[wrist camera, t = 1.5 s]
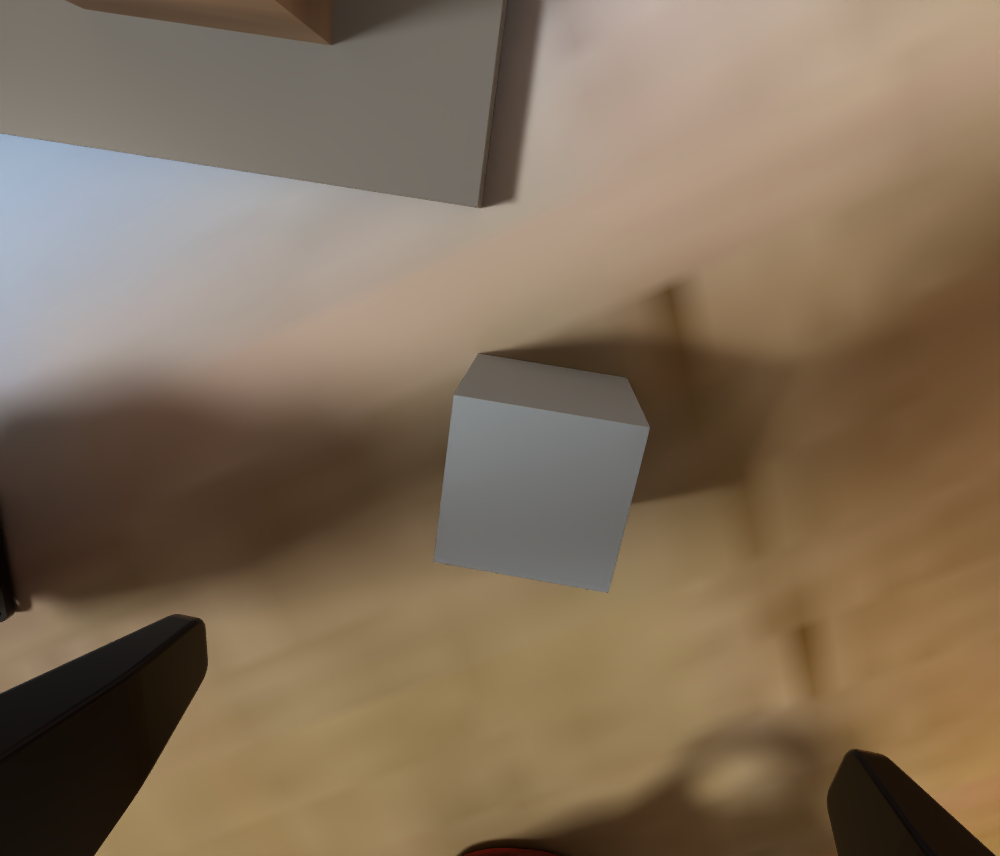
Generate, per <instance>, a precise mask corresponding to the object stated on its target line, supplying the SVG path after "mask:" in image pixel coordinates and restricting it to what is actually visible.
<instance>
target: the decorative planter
mask: <svg viewBox="0 0 1000 856" xmlns="http://www.w3.org/2000/svg"><path fill="white" fill-rule="evenodd" d="M463 856H559V855H556V854H552V853H549V852H544V851H538V850H530V849H517V848H492V849H485V850H479V851H475V852H471V853H468V854H466V855H463Z"/></svg>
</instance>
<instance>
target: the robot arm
mask: <svg viewBox="0 0 1000 856" xmlns="http://www.w3.org/2000/svg"><path fill="white" fill-rule="evenodd" d="M14 613H15V605H14V600H13V594H12V589H11V583H10V578H9V572H8V567H7V562H6V556H5V551H4V545H3V540H2V534H1V529H0V622H3V621H5V620H6V619H8V618H9V617H11V616H12V615H13V614H14ZM207 666H208V656H207V641H206V628H205V624H204V622H203V620H201V619H200V618H196V617H191V616H186V615H181V614H174V615H170V616H168V617H165V618H163V619H161V620H159V621H157V622H155V623H152V624H150V625H148V626H146V627H144V628H142V629H139V630H137V631H135V632H133V633H131V634H128V635H126V636H124V637H122V638H120V639H118V640H115V641H113V642H111V643H109V644H107V645H105V646H102V647H100V648H98V649H96V650H94V651H92V652H89V653H87V654H85V655H83V656H81V657H79V658H76V659H74V660H72V661H70V662H68V663H66V664H63V665H61V666H59V667H57V668H55V669H53V670H50V671H48V672H46V673H44V674H42V675H40V676H37V677H35V678H33V679H31V680H29V681H27V682H24V683H22V684H20V685H18V686H16V687H14V688H11V689H9V690H7V691H5V692H3V693H1V694H0V856H94V855H95V854H96V852H97V851H98V849H99V848H100V846H101V845H102V844H103V842H104V841H105V839H106V838H107V836H108V835H109V834H110V832H111V831H112V829H113V828H114V826H115V825H116V824H117V822H118V821H119V819H120V818H121V816H122V815H123V813H124V812H125V811H126V809H127V808H128V806H129V805H130V803H131V802H132V800H133V799H134V797H135V796H136V794H137V793H138V791H139V790H140V788H141V787H142V785H143V784H144V782H145V780H146V779H147V777H148V775H149V774H150V772H151V770H152V769H153V767H154V765H155V763H156V762H157V760H158V758H159V756H160V755H161V753H162V751H163V749H164V748H165V746H166V744H167V742H168V741H169V739H170V737H171V735H172V734H173V732H174V730H175V728H176V727H177V725H178V723H179V721H180V720H181V718H182V716H183V714H184V713H185V711H186V709H187V707H188V706H189V704H190V702H191V700H192V699H193V697H194V695H195V694H196V692H197V690H198V688H199V687H200V685H201V683H202V681H203V679H204V677H205V674H206V671H207ZM827 808H828V814H829V818H830V822H831V826H832V831H833V835H834V839H835V843H836V847H837V852H838V856H995V855H994V854H993V853H992V852H991V851H990V850H989V849H988V848H987V847H986V846H984V845H983V844H982V843H981V842H980V841H979V840H978V839H977V838H976V837H975V836H974V835H972V834H971V833H970V832H969V831H968V830H967V829H966V828H965V827H964V826H963V825H962V824H960V823H959V822H958V821H957V820H956V819H955V818H954V817H953V816H952V815H951V814H949V813H948V812H947V811H946V810H945V809H944V808H943V807H942V806H941V805H940V804H939V803H937V802H936V801H935V800H934V799H933V798H932V797H931V796H930V795H929V794H928V793H926V792H925V791H924V790H923V789H922V788H921V787H920V786H919V785H918V784H917V783H916V782H914V781H913V780H912V779H911V778H910V777H909V776H908V775H907V774H906V773H905V772H903V771H902V770H901V769H900V768H899V767H898V766H897V765H896V764H895V763H894V762H893V761H891V760H890V759H889V758H888V757H886V756H884V755H882V754H879V753H874V752H869V751H864V750H859V749H851V750H850V751H848V752H847V753H846V754H845V756H844V758H843V760H842V762H841V764H840V766H839V769H838V771H837V773H836V775H835V777H834V779H833V781H832V783H831V785H830V787H829V790H828V795H827Z"/></svg>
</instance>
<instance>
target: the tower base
mask: <svg viewBox="0 0 1000 856" xmlns="http://www.w3.org/2000/svg"><path fill="white" fill-rule="evenodd" d="M507 2H508V0H0V133H1V134H8V135H14V136H21V137H27V138H34V139H40V140H46V141H53V142H59V143H66V144H72V145H78V146H85V147H91V148H98V149H104V150H111V151H117V152H123V153H130V154H136V155H143V156H149V157H156V158H162V159H168V160H175V161H181V162H188V163H194V164H201V165H207V166H213V167H220V168H226V169H233V170H239V171H245V172H252V173H258V174H265V175H271V176H278V177H284V178H290V179H297V180H303V181H310V182H316V183H323V184H329V185H335V186H342V187H348V188H355V189H361V190H368V191H374V192H380V193H387V194H393V195H400V196H406V197H412V198H419V199H425V200H432V201H438V202H445V203H451V204H457V205H464V206H470V207H477V208H482V200H483V193H484V185H485V177H486V169H487V161H488V153H489V145H490V137H491V129H492V121H493V113H494V105H495V97H496V89H497V81H498V73H499V65H500V57H501V50H502V42H503V34H504V26H505V18H506V10H507Z"/></svg>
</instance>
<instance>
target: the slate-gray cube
mask: <svg viewBox="0 0 1000 856" xmlns="http://www.w3.org/2000/svg"><path fill="white" fill-rule="evenodd" d="M649 430H650V426H649V424H648V422H647V420H646V418H645V415H644V413H643V411H642V409H641V407H640V405H639V403H638V400H637V398H636V396H635V394H634V392H633V390H632V388H631V385H630V383H629V381H628V379H627V378H625V377H619V376H613V375H607V374H601V373H595V372H589V371H583V370H577V369H571V368H564V367H558V366H552V365H546V364H540V363H534V362H528V361H522V360H516V359H510V358H504V357H497V356H491V355H485V354H479V353H478V355H477V356H476V358H475V360H474V362H473V363H472V365H471V367H470V368H469V370H468V372H467V373H466V375H465V377H464V378H463V380H462V382H461V383H460V385H459V387H458V388H457V390H456V392H455V394H454V397H453V405H452V413H451V421H450V430H449V438H448V446H447V454H446V463H445V471H444V479H443V487H442V496H441V504H440V512H439V520H438V528H437V537H436V545H435V553H434V561H433V562H437V563H443V564H448V565H454V566H460V567H465V568H471V569H477V570H482V571H488V572H494V573H499V574H505V575H510V576H516V577H522V578H527V579H533V580H539V581H544V582H550V583H556V584H561V585H567V586H572V587H578V588H584V589H589V590H595V591H601V592H606V593H608V592H609V588H610V584H611V581H612V577H613V573H614V569H615V565H616V561H617V557H618V553H619V549H620V545H621V541H622V537H623V533H624V529H625V525H626V521H627V517H628V513H629V509H630V505H631V501H632V497H633V493H634V489H635V486H636V482H637V478H638V474H639V470H640V466H641V462H642V458H643V454H644V450H645V446H646V442H647V438H648V434H649Z"/></svg>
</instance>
